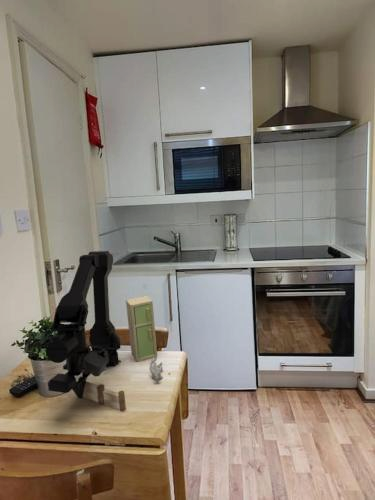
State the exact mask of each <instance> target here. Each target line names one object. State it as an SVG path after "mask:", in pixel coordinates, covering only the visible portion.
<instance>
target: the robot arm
mask: <svg viewBox="0 0 375 500" xmlns="http://www.w3.org/2000/svg"><path fill="white" fill-rule="evenodd" d="M78 262H79V263H78V266H77V270H76V272H75V275H74V277H73V281H72V284H71V286H70V289H69V290H68V292H67V293H65V294H64V295H63V296H61V299H60V300H59V302H58V304H57V306H56V308H55V312H54V315H53V316H54V317H53V322H52V327H51V332H57V333H55V334H53V335H52V336H51V341H50V342H49V343H48V344H47V345H46V348H45V355H46V357H47V358H48V360H49V361H51V362H52V363H55V364H61V363H63V362H64V361H65V364H64V365H62V369H63V370H64V371H65V370H66V371H67V372H65V373H56V374H55V375H54V376H53V377H51V379H49V380H48V381H47V389H48V391H49V392H57V393H62V394H63V393H65V394H66V393H70V392H71V391H73V392H74V394H75V396H77V398H78V399H82V398H84V397H83V392H84V388H85V384H86V381H87V379H88V377H90V375H92V376H94V377H100V376H101V374H102V373H103V372H104V371H105V370H106V368H109V367H110V368H114V367H116V366H117V365H119V363H122V360H120V359H119V354H118V353H119V352H118V350H120V349H121V348H122V347H121V338H120V336H118V334H117V333H116V328H115V326H114V324H113V323H112V321H111V320H110V299H109V278H108V277H109V275H110V274H111V272H112V270H113V263H114V256H113V254H112V253H110V251H109V250H100V251H99V250H98V251H97V250H96V251H89V252H88V254H83V255H81V256H79V259H78ZM91 283H92V287H93V288H92V289H93V290H92V291H93V305H94V306H93V309H94V310H93V311H94V324H93V325H92V327H91V328H90V329H89V339H88V342H89V345H90V346H89V345H87V339H86V337H87V336H86V328H85V326H86V325H87V318H88V314H89V304H88V301H87V296H88V293H89V290H90V286H91Z"/></svg>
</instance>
